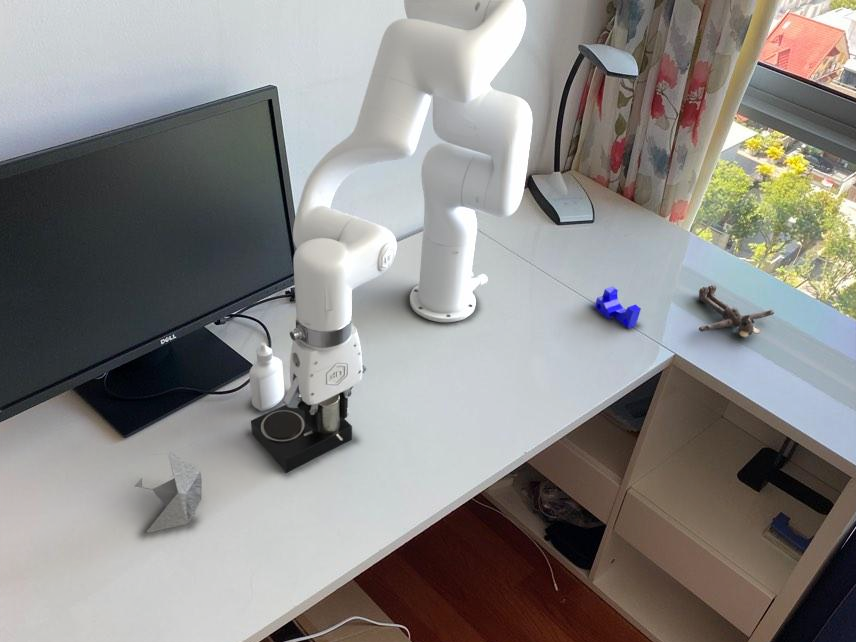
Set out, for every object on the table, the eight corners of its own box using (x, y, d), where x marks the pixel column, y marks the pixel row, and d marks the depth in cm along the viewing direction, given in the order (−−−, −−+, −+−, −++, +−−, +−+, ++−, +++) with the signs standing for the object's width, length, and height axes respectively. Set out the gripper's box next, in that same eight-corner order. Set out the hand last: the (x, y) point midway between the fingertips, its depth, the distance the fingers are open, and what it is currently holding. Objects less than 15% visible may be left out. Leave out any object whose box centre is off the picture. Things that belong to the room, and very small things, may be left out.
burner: (289, 406, 127) (289, 403, 126) (313, 430, 123) (312, 427, 123) (252, 423, 123) (252, 420, 123) (275, 448, 120) (275, 445, 120)
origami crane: (191, 540, 109) (121, 527, 107) (190, 542, 115) (124, 530, 113) (212, 454, 112) (144, 440, 110) (210, 460, 118) (146, 447, 116)
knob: (344, 426, 124) (344, 396, 120) (323, 437, 122) (322, 407, 118) (330, 412, 126) (329, 382, 122) (308, 422, 124) (307, 392, 120)
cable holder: (594, 307, 157) (598, 291, 154) (607, 303, 158) (612, 286, 155) (622, 330, 152) (627, 313, 149) (635, 325, 153) (640, 308, 151)
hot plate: (322, 401, 132) (321, 386, 130) (363, 442, 126) (363, 428, 124) (252, 434, 126) (250, 419, 124) (292, 479, 120) (291, 465, 118)
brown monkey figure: (742, 276, 163) (794, 312, 152) (737, 295, 165) (787, 331, 155) (670, 292, 157) (719, 331, 146) (665, 311, 159) (713, 350, 149)
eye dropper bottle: (289, 405, 131) (285, 348, 123) (255, 413, 129) (249, 356, 121) (281, 388, 134) (277, 331, 126) (248, 396, 132) (241, 339, 124)
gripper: (287, 362, 105) (293, 458, 117) (388, 317, 113) (384, 411, 126) (256, 333, 109) (266, 428, 121) (357, 291, 117) (356, 384, 130)
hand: (326, 418), depth 123 cm, fingers closed on knob, 4 cm apart
